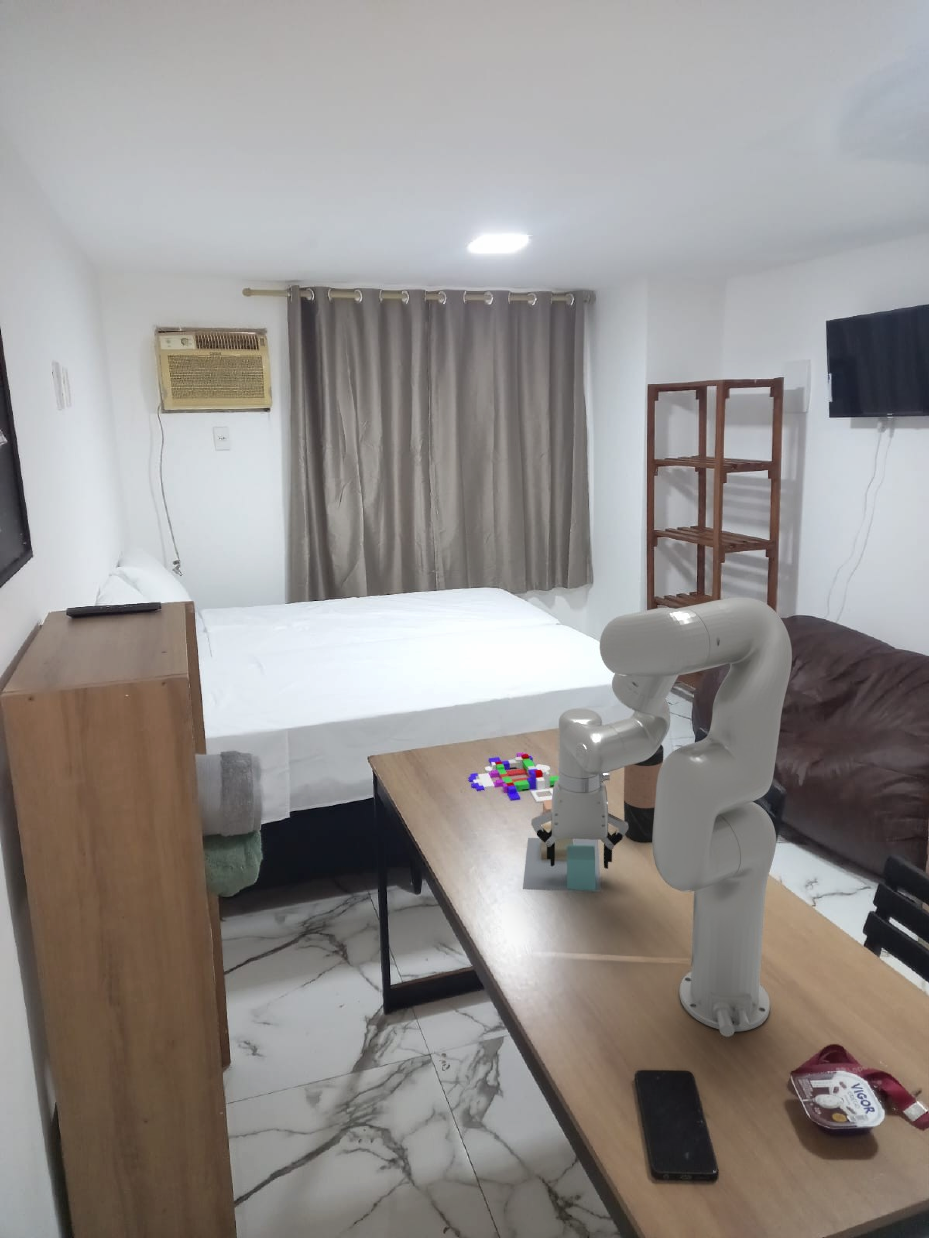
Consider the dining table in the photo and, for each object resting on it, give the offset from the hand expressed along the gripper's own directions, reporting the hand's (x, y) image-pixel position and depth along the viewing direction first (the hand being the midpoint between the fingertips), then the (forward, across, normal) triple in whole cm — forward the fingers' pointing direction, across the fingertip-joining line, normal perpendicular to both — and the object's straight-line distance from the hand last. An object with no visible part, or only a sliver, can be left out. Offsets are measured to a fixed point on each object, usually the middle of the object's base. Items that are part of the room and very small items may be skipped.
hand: (579, 863), depth 148 cm
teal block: (+4, 0, 0) cm, 4 cm away
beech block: (+4, +4, -10) cm, 11 cm away
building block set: (+6, +15, -42) cm, 45 cm away
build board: (+5, +3, -6) cm, 8 cm away
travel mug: (+5, -13, -18) cm, 22 cm away
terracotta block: (+3, +6, -26) cm, 26 cm away
